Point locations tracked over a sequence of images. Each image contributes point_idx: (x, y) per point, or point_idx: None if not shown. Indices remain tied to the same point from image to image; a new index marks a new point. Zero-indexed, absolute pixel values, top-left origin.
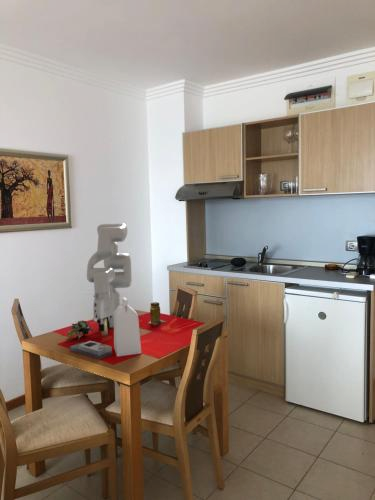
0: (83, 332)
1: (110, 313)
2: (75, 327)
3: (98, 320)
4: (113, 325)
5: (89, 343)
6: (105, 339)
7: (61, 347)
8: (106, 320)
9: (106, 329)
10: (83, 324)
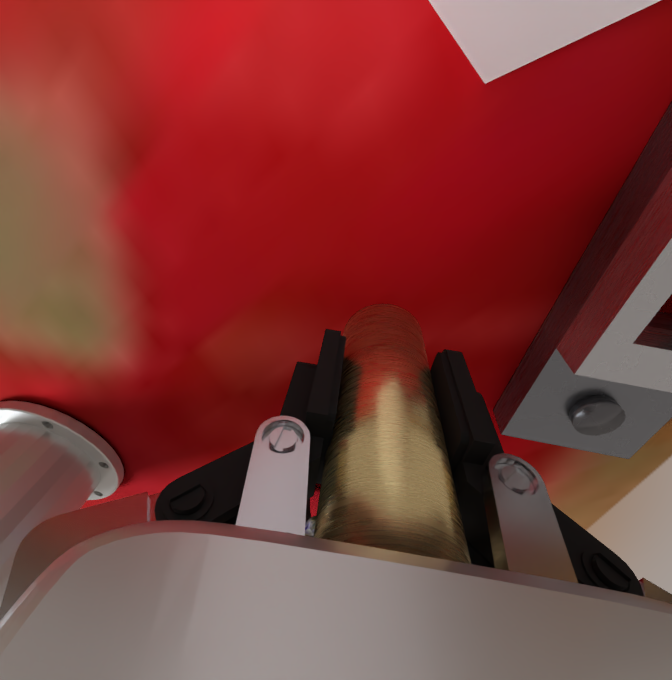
0: (309, 508)
1: (238, 654)
2: None
3: (625, 588)
4: (75, 436)
5: (650, 341)
6: (293, 344)
7: (550, 494)
8: (385, 469)
9: (393, 344)
10: None
